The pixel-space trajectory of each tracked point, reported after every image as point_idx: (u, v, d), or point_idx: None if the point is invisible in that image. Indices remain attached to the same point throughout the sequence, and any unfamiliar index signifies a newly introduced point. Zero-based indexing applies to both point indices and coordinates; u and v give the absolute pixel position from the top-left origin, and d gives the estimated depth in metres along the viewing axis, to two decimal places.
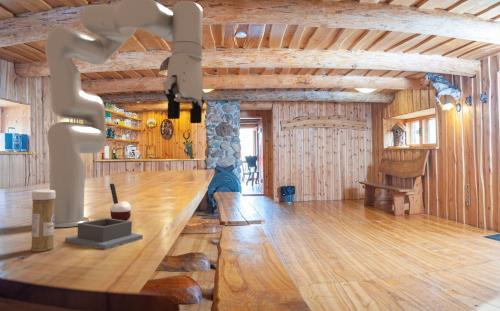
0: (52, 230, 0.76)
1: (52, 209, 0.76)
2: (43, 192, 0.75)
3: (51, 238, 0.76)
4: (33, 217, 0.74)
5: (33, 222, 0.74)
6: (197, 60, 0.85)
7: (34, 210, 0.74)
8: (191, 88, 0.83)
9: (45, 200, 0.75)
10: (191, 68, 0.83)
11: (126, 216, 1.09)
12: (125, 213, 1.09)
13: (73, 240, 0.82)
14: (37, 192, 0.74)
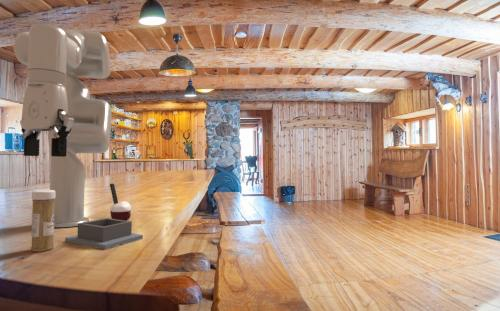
0: (52, 230, 0.76)
1: (52, 209, 0.76)
2: (43, 192, 0.75)
3: (51, 238, 0.76)
4: (33, 217, 0.74)
5: (33, 222, 0.74)
6: None
7: (34, 210, 0.74)
8: None
9: (45, 200, 0.75)
10: None
11: (126, 216, 1.09)
12: (125, 213, 1.09)
13: (73, 240, 0.82)
14: (37, 192, 0.74)
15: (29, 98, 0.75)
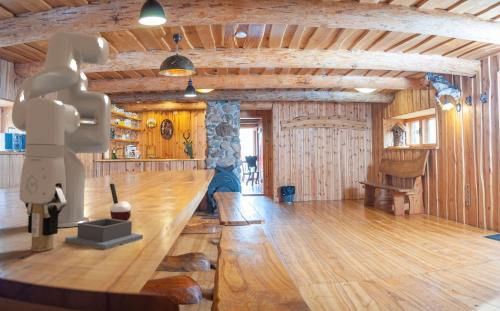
0: None
1: None
2: None
3: (51, 238, 0.76)
4: (33, 217, 0.74)
5: (33, 222, 0.74)
6: None
7: (34, 210, 0.74)
8: None
9: None
10: None
11: (126, 216, 1.09)
12: (125, 213, 1.09)
13: (73, 240, 0.82)
14: None
15: (27, 172, 0.75)
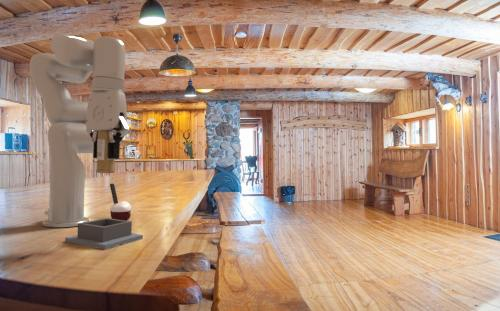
0: None
1: None
2: None
3: (113, 162, 0.86)
4: (99, 142, 0.84)
5: (99, 147, 0.84)
6: None
7: (100, 136, 0.84)
8: None
9: None
10: None
11: (126, 216, 1.09)
12: (125, 213, 1.09)
13: (73, 240, 0.82)
14: None
15: (94, 102, 0.84)
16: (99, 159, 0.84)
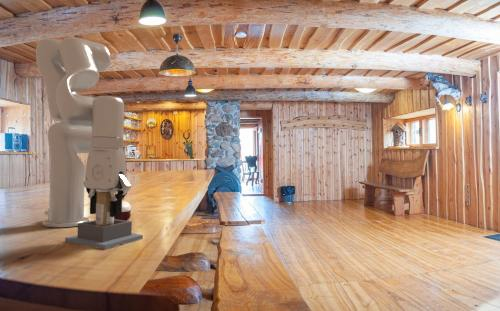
0: (113, 219, 0.86)
1: None
2: None
3: None
4: (98, 207, 0.84)
5: (98, 211, 0.84)
6: None
7: (99, 201, 0.84)
8: None
9: (108, 192, 0.84)
10: None
11: (126, 216, 1.09)
12: (125, 213, 1.09)
13: (73, 240, 0.82)
14: None
15: (93, 161, 0.84)
16: (98, 224, 0.84)
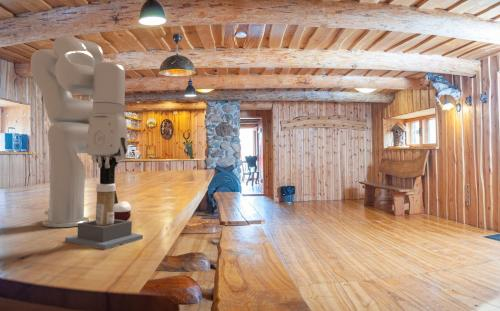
0: (113, 219, 0.86)
1: (113, 200, 0.86)
2: (107, 185, 0.84)
3: None
4: (98, 207, 0.84)
5: (98, 211, 0.84)
6: None
7: (99, 201, 0.84)
8: None
9: (108, 192, 0.84)
10: None
11: (126, 216, 1.09)
12: (125, 213, 1.09)
13: (73, 240, 0.82)
14: (102, 185, 0.84)
15: (94, 128, 0.84)
16: (98, 224, 0.84)
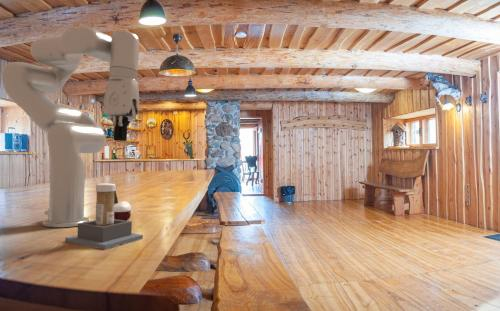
0: (113, 219, 0.86)
1: (113, 200, 0.86)
2: (106, 185, 0.84)
3: None
4: (98, 207, 0.84)
5: (98, 211, 0.84)
6: None
7: (98, 201, 0.84)
8: None
9: (108, 192, 0.84)
10: None
11: (126, 216, 1.09)
12: (125, 213, 1.09)
13: (73, 240, 0.82)
14: (101, 185, 0.84)
15: (110, 90, 0.94)
16: (98, 224, 0.84)
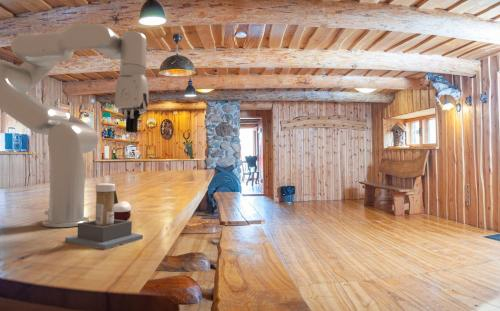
0: (113, 218, 0.86)
1: (113, 200, 0.86)
2: (106, 185, 0.84)
3: None
4: (97, 207, 0.84)
5: (97, 211, 0.84)
6: None
7: (98, 201, 0.84)
8: None
9: (108, 192, 0.84)
10: None
11: (126, 216, 1.09)
12: (125, 213, 1.09)
13: (73, 240, 0.82)
14: (101, 185, 0.84)
15: (121, 85, 1.02)
16: (98, 224, 0.84)
